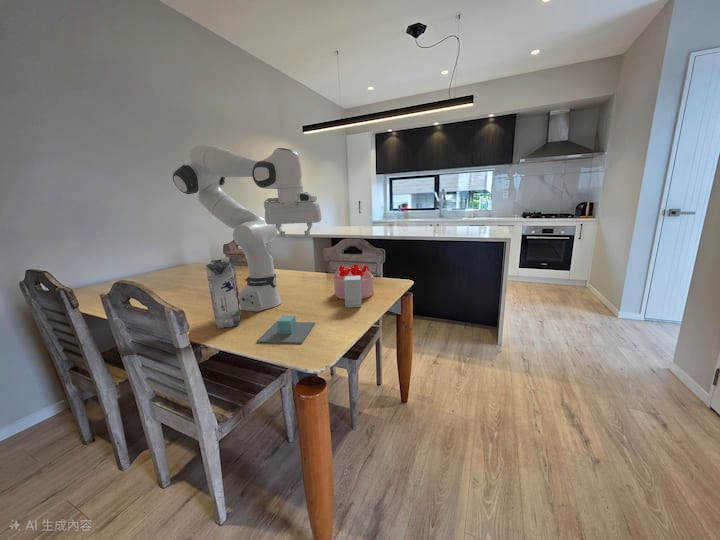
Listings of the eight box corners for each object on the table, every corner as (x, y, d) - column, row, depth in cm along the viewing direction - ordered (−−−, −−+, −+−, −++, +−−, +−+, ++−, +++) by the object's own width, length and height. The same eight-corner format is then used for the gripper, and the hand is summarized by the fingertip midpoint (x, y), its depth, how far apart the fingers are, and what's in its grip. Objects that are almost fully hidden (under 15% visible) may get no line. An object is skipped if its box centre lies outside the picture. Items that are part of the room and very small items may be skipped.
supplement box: (361, 307, 126) (360, 279, 123) (345, 307, 126) (343, 280, 123) (362, 301, 133) (360, 275, 130) (346, 302, 133) (344, 275, 130)
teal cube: (278, 334, 102) (276, 321, 101) (283, 328, 107) (282, 315, 106) (291, 334, 101) (290, 321, 100) (296, 328, 106) (295, 315, 105)
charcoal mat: (256, 342, 98) (256, 341, 98) (276, 323, 113) (275, 321, 113) (301, 343, 96) (301, 342, 95) (315, 323, 111) (315, 322, 111)
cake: (376, 288, 152) (375, 262, 149) (370, 301, 133) (369, 271, 129) (340, 287, 156) (338, 262, 152) (330, 300, 137) (327, 271, 133)
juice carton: (215, 330, 109) (202, 261, 102) (220, 320, 119) (209, 256, 112) (240, 327, 111) (229, 259, 104) (243, 317, 121) (233, 254, 114)
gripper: (259, 198, 100) (264, 238, 103) (316, 195, 97) (319, 236, 100) (267, 198, 106) (271, 235, 109) (321, 195, 103) (323, 234, 106)
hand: (294, 236), depth 104 cm, fingers open, 8 cm apart
